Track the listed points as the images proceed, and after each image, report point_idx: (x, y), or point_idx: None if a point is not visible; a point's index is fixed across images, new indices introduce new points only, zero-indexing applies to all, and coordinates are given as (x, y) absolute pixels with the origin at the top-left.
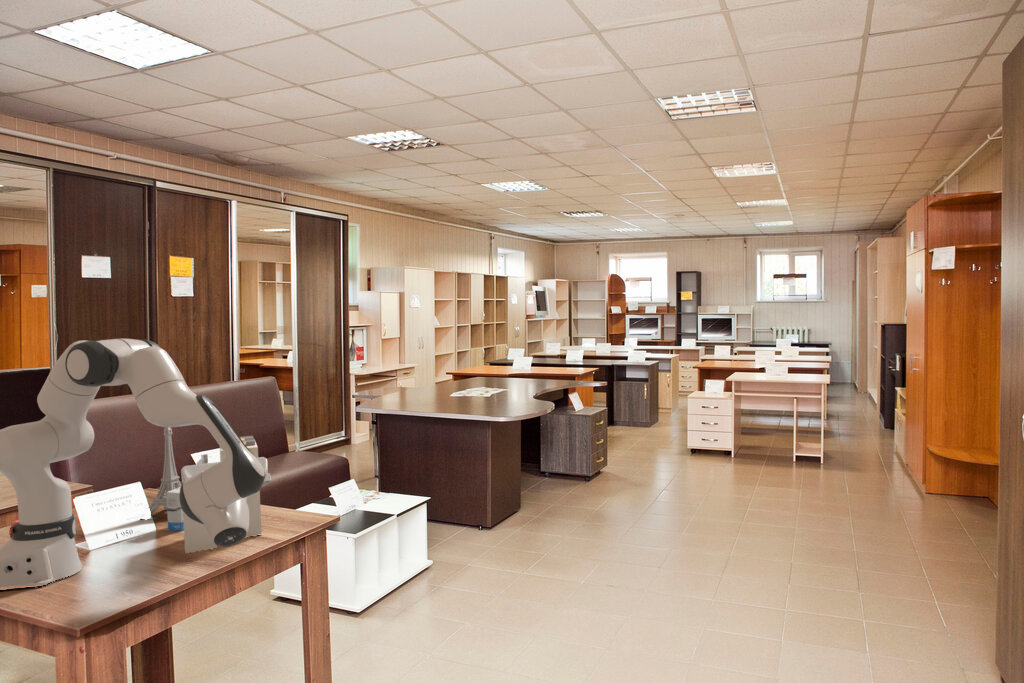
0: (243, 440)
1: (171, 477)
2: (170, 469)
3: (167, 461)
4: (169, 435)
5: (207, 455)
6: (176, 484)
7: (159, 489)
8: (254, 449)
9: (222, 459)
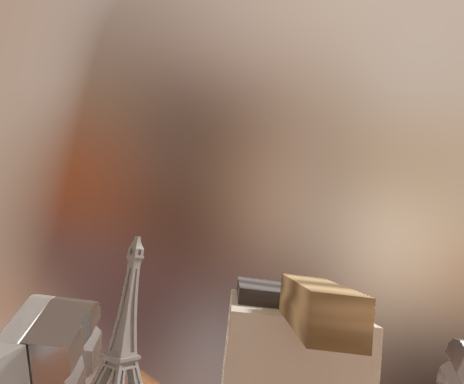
0: (334, 284)
1: (122, 355)
2: (123, 336)
3: (122, 317)
4: (136, 261)
5: (90, 315)
6: (130, 373)
7: (95, 376)
8: None
9: (233, 352)
